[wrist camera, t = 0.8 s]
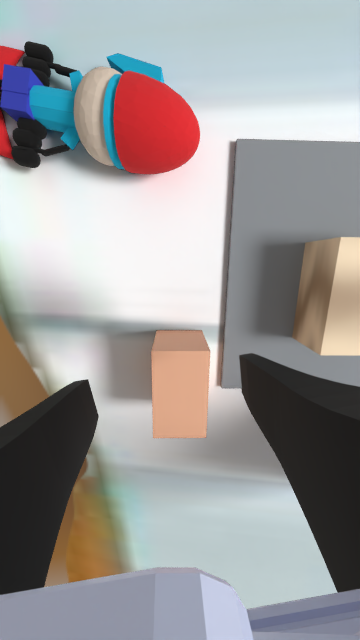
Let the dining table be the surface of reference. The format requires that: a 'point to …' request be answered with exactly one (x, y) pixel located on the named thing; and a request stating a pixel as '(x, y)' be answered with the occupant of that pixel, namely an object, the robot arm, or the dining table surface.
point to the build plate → (284, 247)
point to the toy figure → (95, 112)
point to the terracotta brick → (180, 384)
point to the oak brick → (330, 297)
